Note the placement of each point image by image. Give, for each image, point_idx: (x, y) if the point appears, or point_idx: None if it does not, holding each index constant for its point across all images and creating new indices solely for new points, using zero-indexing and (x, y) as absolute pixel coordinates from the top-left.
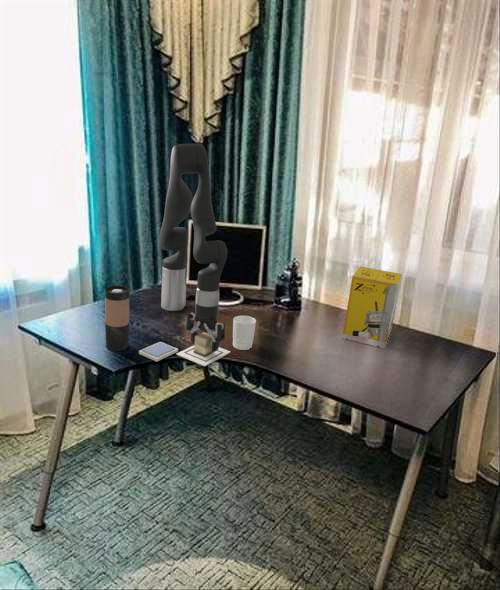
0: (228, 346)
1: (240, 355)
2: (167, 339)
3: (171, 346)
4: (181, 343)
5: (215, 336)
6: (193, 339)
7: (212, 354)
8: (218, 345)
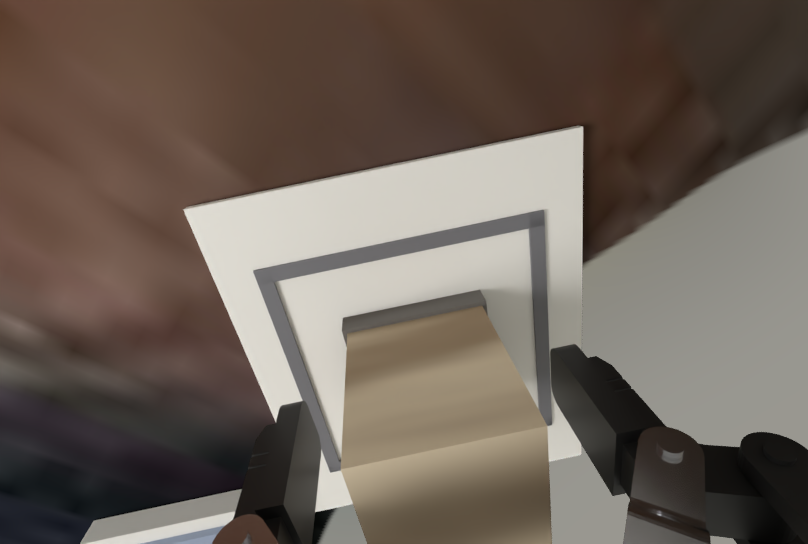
0: (456, 22)
1: (699, 81)
2: (4, 447)
3: (207, 519)
4: (139, 396)
5: (636, 490)
6: (315, 493)
7: (498, 319)
8: (634, 394)
